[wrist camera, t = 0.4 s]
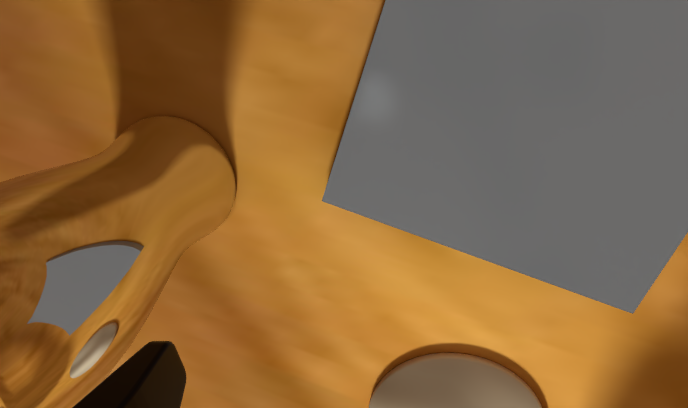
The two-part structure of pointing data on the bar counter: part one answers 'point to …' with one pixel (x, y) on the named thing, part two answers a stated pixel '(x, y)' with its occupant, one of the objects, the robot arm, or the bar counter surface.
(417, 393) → the metal coaster
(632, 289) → the slate board
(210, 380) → the bar counter surface
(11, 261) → the beer glass
